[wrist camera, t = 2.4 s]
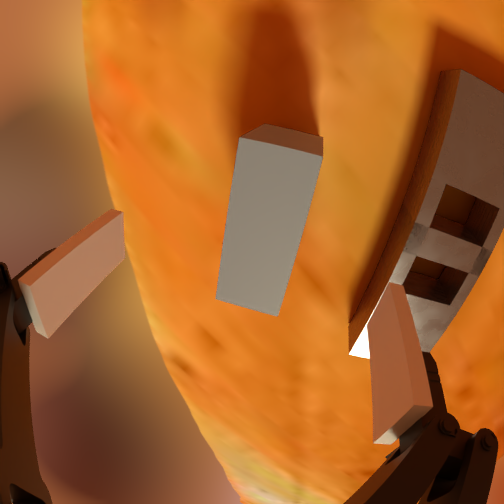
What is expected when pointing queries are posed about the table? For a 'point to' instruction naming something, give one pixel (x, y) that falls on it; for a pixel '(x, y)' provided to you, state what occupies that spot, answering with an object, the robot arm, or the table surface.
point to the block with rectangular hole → (439, 228)
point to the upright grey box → (267, 215)
